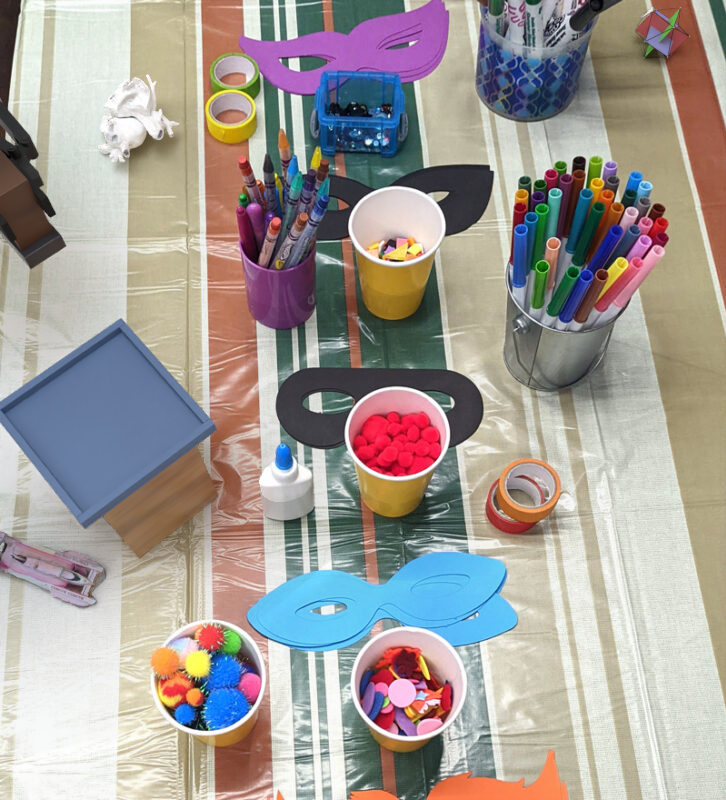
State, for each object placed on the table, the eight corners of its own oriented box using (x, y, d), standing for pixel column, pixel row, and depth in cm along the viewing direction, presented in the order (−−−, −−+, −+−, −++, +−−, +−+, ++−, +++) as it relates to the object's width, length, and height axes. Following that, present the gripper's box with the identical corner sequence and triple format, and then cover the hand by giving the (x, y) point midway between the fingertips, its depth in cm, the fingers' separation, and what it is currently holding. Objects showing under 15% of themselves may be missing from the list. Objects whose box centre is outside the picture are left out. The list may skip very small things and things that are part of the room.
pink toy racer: (111, 566, 105) (102, 556, 101) (91, 610, 103) (81, 601, 99) (10, 532, 106) (-2, 521, 102) (-11, 575, 104) (-25, 565, 100)
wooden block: (81, 487, 108) (22, 417, 89) (160, 428, 111) (120, 349, 92) (138, 558, 105) (90, 501, 86) (219, 496, 108) (189, 428, 89)
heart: (139, 61, 125) (176, 103, 119) (161, 99, 131) (197, 140, 125) (70, 111, 125) (104, 154, 119) (95, 146, 130) (128, 189, 125)
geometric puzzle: (699, 32, 132) (682, -14, 127) (689, 65, 130) (671, 19, 124) (653, 45, 137) (635, 1, 131) (642, 77, 134) (623, 34, 129)
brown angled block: (-19, 211, 97) (-60, 146, 88) (16, 189, 99) (-20, 123, 89) (31, 269, 95) (-5, 209, 85) (66, 246, 96) (35, 184, 87)
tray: (-5, 415, 90) (-11, 408, 88) (124, 325, 93) (120, 317, 92) (85, 529, 85) (80, 524, 84) (217, 430, 89) (214, 423, 88)
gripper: (-10, 72, 101) (109, 199, 94) (-144, 150, 97) (-29, 288, 90) (-37, 16, 94) (89, 149, 87) (-183, 97, 90) (-62, 243, 83)
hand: (29, 219), depth 89 cm, fingers closed on brown angled block, 4 cm apart
